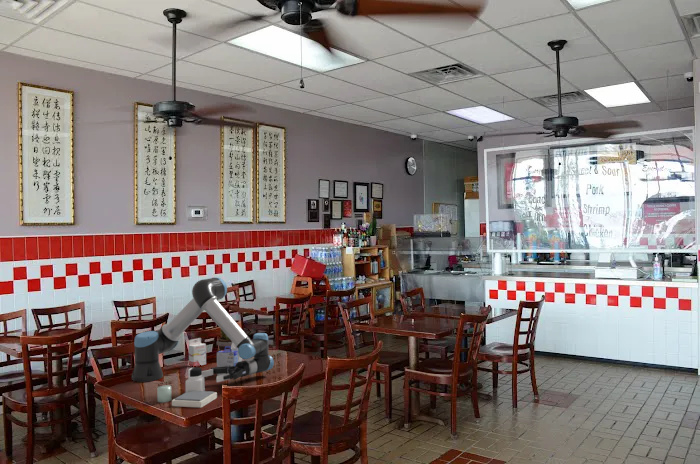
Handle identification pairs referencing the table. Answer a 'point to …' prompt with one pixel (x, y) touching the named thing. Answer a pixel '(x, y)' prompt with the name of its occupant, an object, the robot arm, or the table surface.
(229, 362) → the ink cartridge box
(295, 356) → the table surface
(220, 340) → the flowerpot
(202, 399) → the podium
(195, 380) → the medicine bottle
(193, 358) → the ink cartridge box
